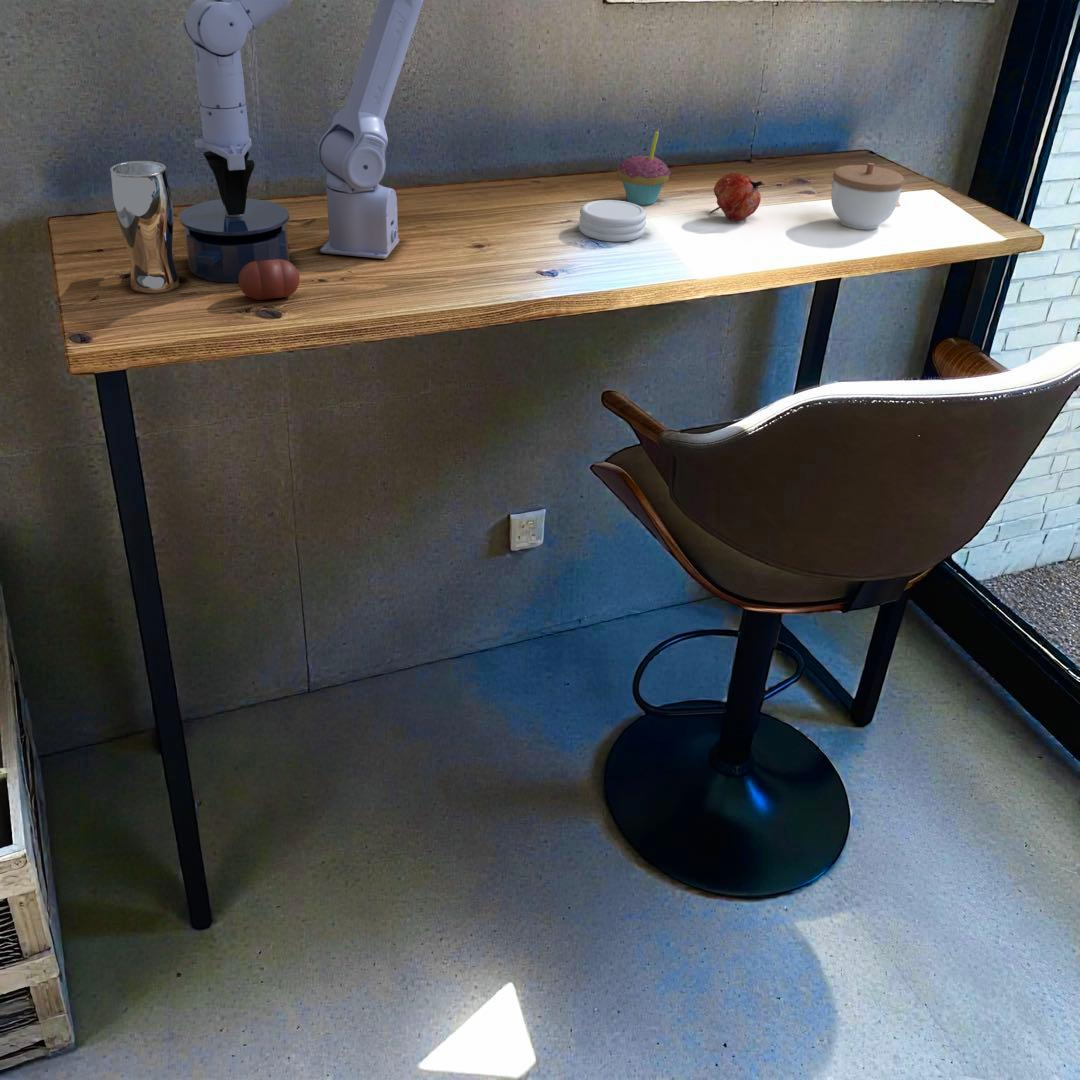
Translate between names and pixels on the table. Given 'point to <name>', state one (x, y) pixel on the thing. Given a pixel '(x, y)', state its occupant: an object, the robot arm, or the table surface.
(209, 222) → the pan lid
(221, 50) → the robot arm
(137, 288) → the beer glass
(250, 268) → the red ribbed oval
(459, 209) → the table surface
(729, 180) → the pomegranate
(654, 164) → the cupcake
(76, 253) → the table surface
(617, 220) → the coaster
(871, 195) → the lidded sugar bowl
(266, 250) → the pan
